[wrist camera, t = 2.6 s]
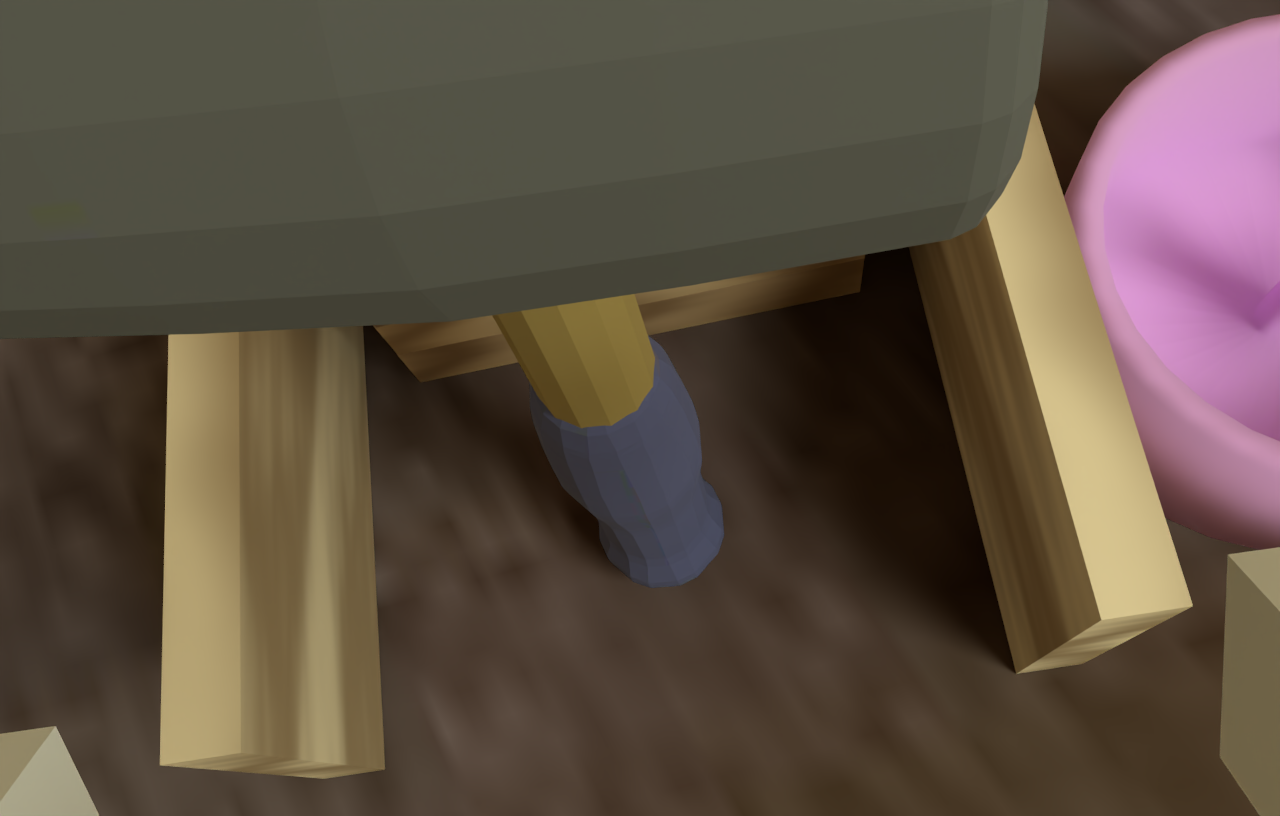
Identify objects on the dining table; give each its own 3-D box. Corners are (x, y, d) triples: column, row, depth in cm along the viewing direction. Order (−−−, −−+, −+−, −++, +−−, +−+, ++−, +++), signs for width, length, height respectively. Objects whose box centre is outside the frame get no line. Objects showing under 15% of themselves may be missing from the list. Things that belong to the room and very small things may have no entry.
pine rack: (324, 778, 36) (160, 765, 26) (306, 191, 43) (174, 21, 34) (1082, 663, 34) (1193, 605, 25) (920, 74, 42) (958, -139, 32)
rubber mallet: (843, 414, 38) (996, -749, 10) (870, 638, 35) (1192, -72, 7) (483, 446, 39) (-301, -501, 11) (483, 664, 36) (-550, 153, 8)
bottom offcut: (424, 387, 41) (397, 355, 38) (412, 268, 42) (385, 228, 40) (859, 297, 40) (864, 258, 37) (827, 179, 41) (830, 133, 39)
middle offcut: (397, 354, 38) (366, 317, 35) (385, 228, 40) (355, 183, 37) (864, 258, 37) (870, 212, 34) (830, 133, 39) (834, 79, 36)
